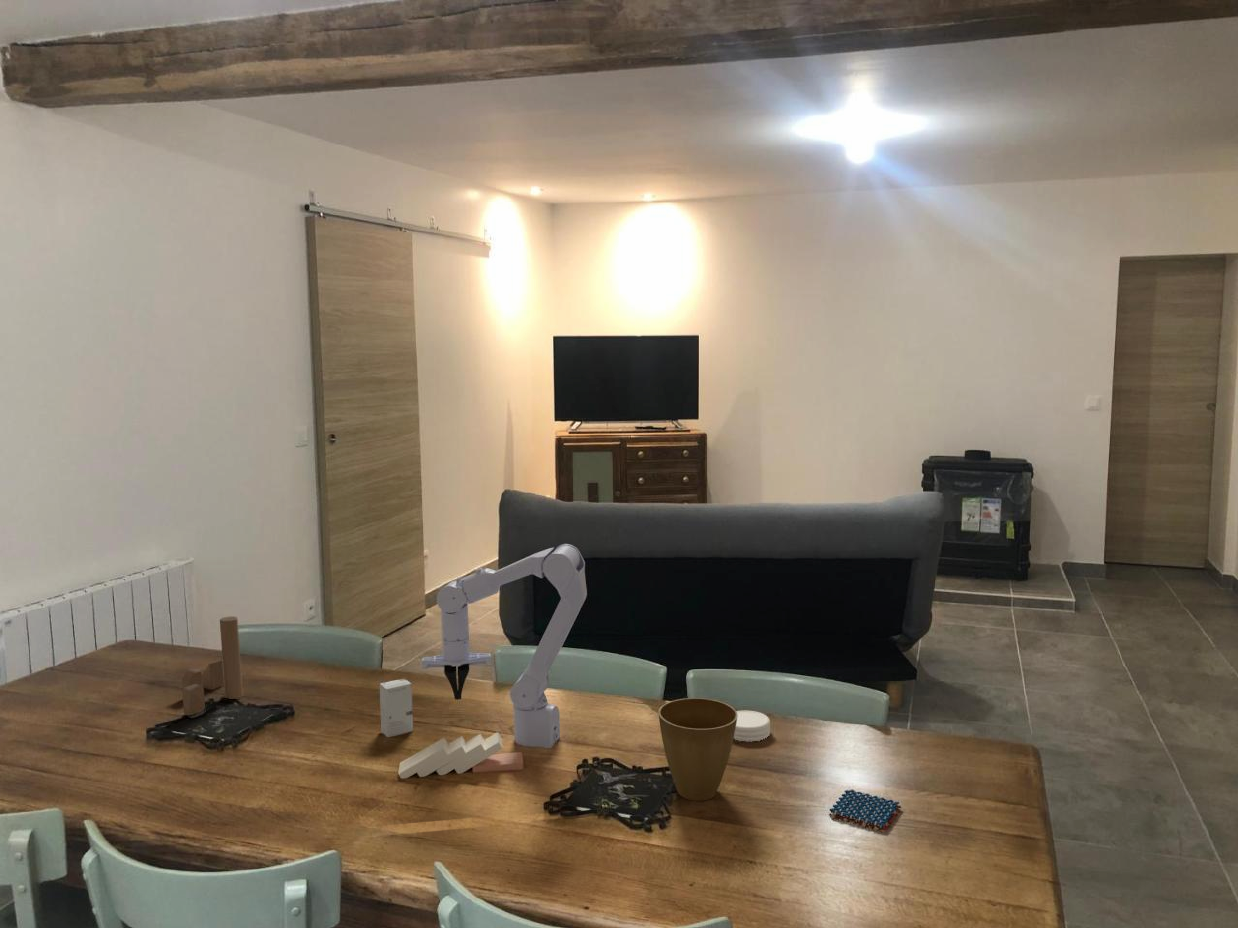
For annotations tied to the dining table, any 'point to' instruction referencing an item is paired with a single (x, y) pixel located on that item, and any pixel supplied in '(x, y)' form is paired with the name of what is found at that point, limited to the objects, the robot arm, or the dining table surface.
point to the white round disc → (751, 726)
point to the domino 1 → (423, 758)
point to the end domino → (500, 762)
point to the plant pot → (697, 744)
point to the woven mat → (865, 810)
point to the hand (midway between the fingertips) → (458, 697)
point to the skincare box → (396, 707)
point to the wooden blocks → (216, 671)
